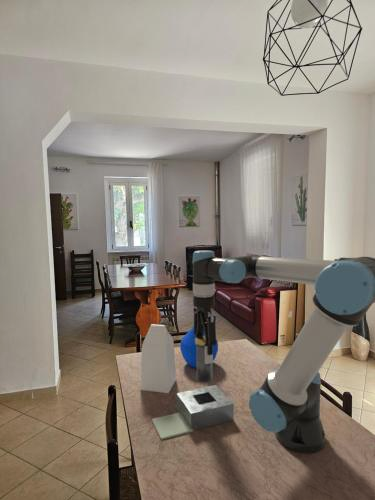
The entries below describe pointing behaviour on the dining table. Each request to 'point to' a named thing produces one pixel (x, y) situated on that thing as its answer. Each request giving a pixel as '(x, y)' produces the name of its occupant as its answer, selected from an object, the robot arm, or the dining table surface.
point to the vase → (192, 348)
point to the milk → (158, 360)
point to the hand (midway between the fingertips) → (204, 358)
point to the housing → (205, 407)
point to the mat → (171, 425)
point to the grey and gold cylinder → (202, 361)
